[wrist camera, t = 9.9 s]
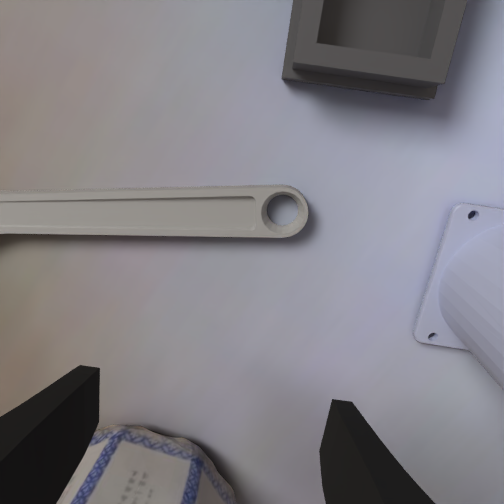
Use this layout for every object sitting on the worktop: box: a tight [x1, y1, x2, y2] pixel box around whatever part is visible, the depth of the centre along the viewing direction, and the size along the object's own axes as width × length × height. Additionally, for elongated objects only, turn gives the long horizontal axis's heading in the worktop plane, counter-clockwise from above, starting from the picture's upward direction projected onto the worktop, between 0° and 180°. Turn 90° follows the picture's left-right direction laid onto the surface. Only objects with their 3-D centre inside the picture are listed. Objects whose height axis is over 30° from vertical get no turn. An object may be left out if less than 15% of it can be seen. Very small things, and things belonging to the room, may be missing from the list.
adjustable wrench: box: [0, 185, 308, 238], centre depth 21 cm, size 25×6×2 cm, turn 86°
